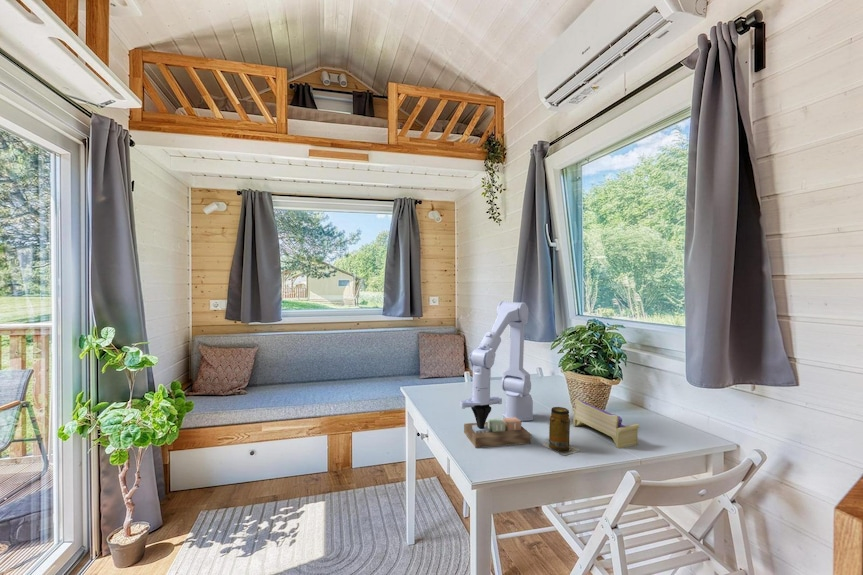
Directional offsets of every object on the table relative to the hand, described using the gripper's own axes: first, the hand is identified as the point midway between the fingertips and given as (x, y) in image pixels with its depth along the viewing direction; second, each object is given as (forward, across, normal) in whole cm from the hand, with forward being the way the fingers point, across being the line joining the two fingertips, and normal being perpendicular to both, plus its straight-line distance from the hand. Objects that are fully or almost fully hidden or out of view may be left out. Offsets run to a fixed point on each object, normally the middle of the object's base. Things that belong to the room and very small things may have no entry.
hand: (480, 427), depth 129 cm
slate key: (+3, 0, 0) cm, 3 cm away
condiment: (+4, -20, +14) cm, 25 cm away
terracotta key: (+2, -11, +2) cm, 11 cm away
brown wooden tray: (+4, -6, +1) cm, 7 cm away
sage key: (+2, -5, +1) cm, 6 cm away
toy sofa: (+4, -41, +11) cm, 43 cm away
